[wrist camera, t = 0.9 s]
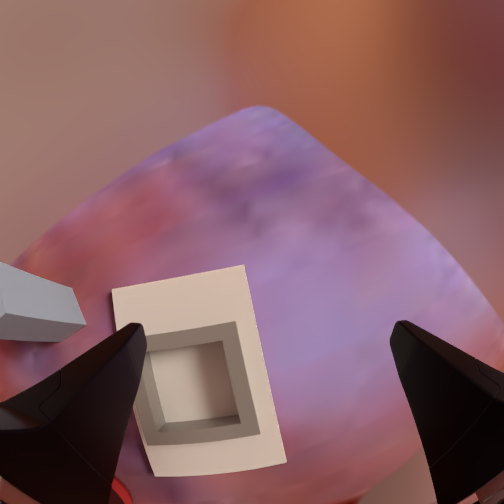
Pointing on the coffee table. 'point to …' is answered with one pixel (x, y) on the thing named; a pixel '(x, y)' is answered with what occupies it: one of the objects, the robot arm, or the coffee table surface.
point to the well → (201, 375)
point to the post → (36, 308)
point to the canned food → (119, 493)
